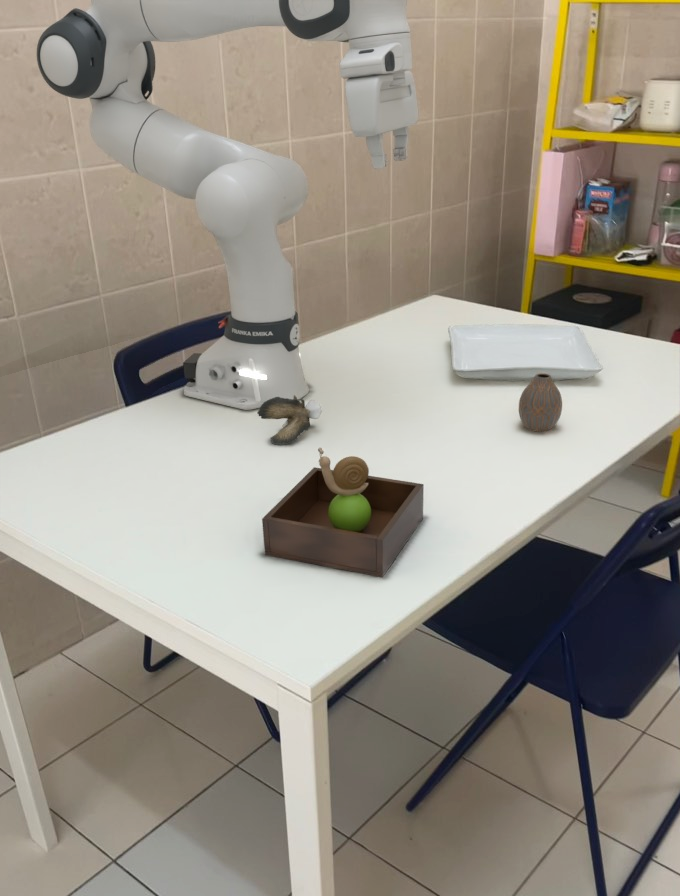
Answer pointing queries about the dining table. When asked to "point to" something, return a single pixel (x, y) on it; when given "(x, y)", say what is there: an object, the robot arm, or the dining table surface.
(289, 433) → the eagle figurine
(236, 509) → the dining table surface
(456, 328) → the square plate
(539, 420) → the vase
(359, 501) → the snail figurine
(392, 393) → the dining table surface
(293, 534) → the crate
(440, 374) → the dining table surface
